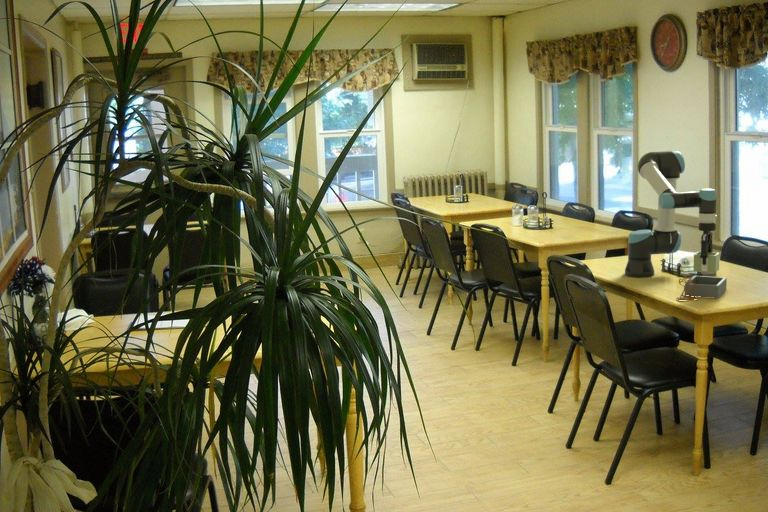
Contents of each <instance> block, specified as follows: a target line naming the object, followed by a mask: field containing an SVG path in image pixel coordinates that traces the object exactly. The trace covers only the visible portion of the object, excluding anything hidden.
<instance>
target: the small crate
mask: <svg viewBox="0 0 768 512" xmlns="http://www.w3.org/2000/svg"><path fill="white" fill-rule="evenodd" d="M703 255H705V254H703ZM700 256H701V251H697V252H695V253H694V254H693V272H698V273H699V272H706V271H701V262H702V258H700ZM707 258H708V271H707V272H714V273H716V274H717V272H718V271H719V270H720V252H713V253H712V252H708V255H707Z"/></svg>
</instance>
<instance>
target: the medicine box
mask: <svg viewBox="0 0 768 512" xmlns="http://www.w3.org/2000/svg"><path fill="white" fill-rule="evenodd" d="M701 274H703V275H702V276H707V275H717V272H716V273H714V272H701ZM701 274H700V275H701Z"/></svg>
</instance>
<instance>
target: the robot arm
mask: <svg viewBox="0 0 768 512" xmlns="http://www.w3.org/2000/svg"><path fill="white" fill-rule="evenodd" d="M637 163H638V164H637V172H638V174H639V176H641V178H642V179H644V180H646V181H647V182H648V184H649V185H650V186H651V187H652V190H654V192H655V193H656V194H657V195H658V199H657V200H658V201H657V202H658V203H657V223H656V224H657V225H655V226H654V228H653V231H652V230H651V229H639V230H636V231H635V230H634V231H631V232H630V233H628V240H627V246H628V247H627V257H628V258H627V263H626V266H625V269H624V275H625V276H628V277H632V278H649V277H653V276H655V268H654V266H653V262H652V255H664V254H666V255H669V254H675V253H677V252H678V251H679V249H680V247H681V244H682V237H681V235H682V234H681V233H680V231H678V228H677V227H676V226H675V221H676V220H675V217H676V209H688V208H689V209H690V208H698V231H702V232H703V233H702V235H701V237H700V238H701V240H700V241H701V242H700V243H701V245H700V252H701V256H700V258H702V262H701V271H706V272H707V271H708V258H707V255H708V252H712V253H714V252H713V251H714V250H713V234H714V233H713V232H714V231H716V230H717V229H716V221H717V217H718V215H717V198H718V197H717V190H716V189H714V188H701V189H700V190H691V191H685V192H684V191H682V192H677V182H678V180H679V179H680V178H681V174H682V173H684V172H685V170H686V163H685V158H684V157H683V154H682V153H681V152H680V151H677V150H665V151H649V152H647V153H645V154H643V155H642V156H641V157H640V159H639V160H638V162H637ZM670 233H671V235H672V243H671V244H670ZM703 254H705V255H703Z"/></svg>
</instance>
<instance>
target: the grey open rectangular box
mask: <svg viewBox="0 0 768 512" xmlns="http://www.w3.org/2000/svg"><path fill="white" fill-rule="evenodd" d="M691 277H692V279H691V278H690V279H691V282H689V284H688V289H690V285H692V286H693V285H695V284H696V288H695V287H693V288H695V289H693V288H692V286H691V291H692V293H693V295H694V296H701V297H700V298H703V297H714V298H713V299H716V298H718V297H719V296H720V297H721V296H722V295H723V294H724V293H725V292H726V291H727V284H728V283H727V278H728V277H726V276H725V277H724V276H723V277H721V276H707V275H693V276H691ZM688 280H689V279H688ZM689 281H690V280H689ZM693 282H694V283H695V284H694V283H693ZM684 285H685V289H687V284H685V283H684ZM725 290H726V291H725ZM691 291H690V290H685V291H684V295H685V294H686V292H688V293H689V295H692V293H691ZM723 292H724V293H723ZM688 293H687V295H688ZM722 293H723V294H722ZM693 295H692V296H693ZM720 297H719V298H720ZM719 298H718V299H719Z"/></svg>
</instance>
